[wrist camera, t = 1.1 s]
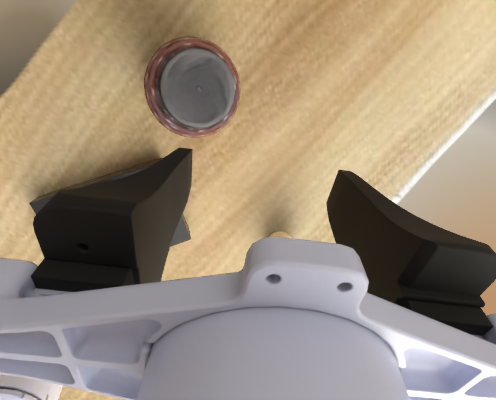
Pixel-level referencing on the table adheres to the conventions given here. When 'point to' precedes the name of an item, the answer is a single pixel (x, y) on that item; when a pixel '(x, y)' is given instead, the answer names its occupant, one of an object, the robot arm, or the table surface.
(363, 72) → the table surface
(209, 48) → the supplement bottle
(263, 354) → the robot arm
